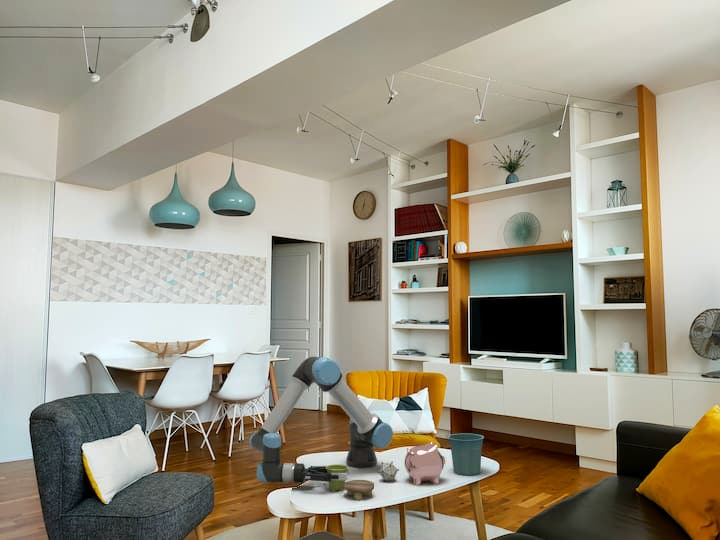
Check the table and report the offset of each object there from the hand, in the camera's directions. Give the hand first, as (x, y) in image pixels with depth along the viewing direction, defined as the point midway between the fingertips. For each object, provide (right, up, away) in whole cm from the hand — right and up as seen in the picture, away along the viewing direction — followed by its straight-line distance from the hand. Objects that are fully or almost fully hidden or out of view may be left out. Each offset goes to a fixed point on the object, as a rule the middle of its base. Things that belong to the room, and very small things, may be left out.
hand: (348, 473), depth 228 cm
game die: (+17, -7, +11) cm, 22 cm away
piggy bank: (+33, -7, +11) cm, 36 cm away
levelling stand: (+5, -5, -10) cm, 12 cm away
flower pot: (+54, -9, +25) cm, 60 cm away
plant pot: (-5, -6, 0) cm, 8 cm away
